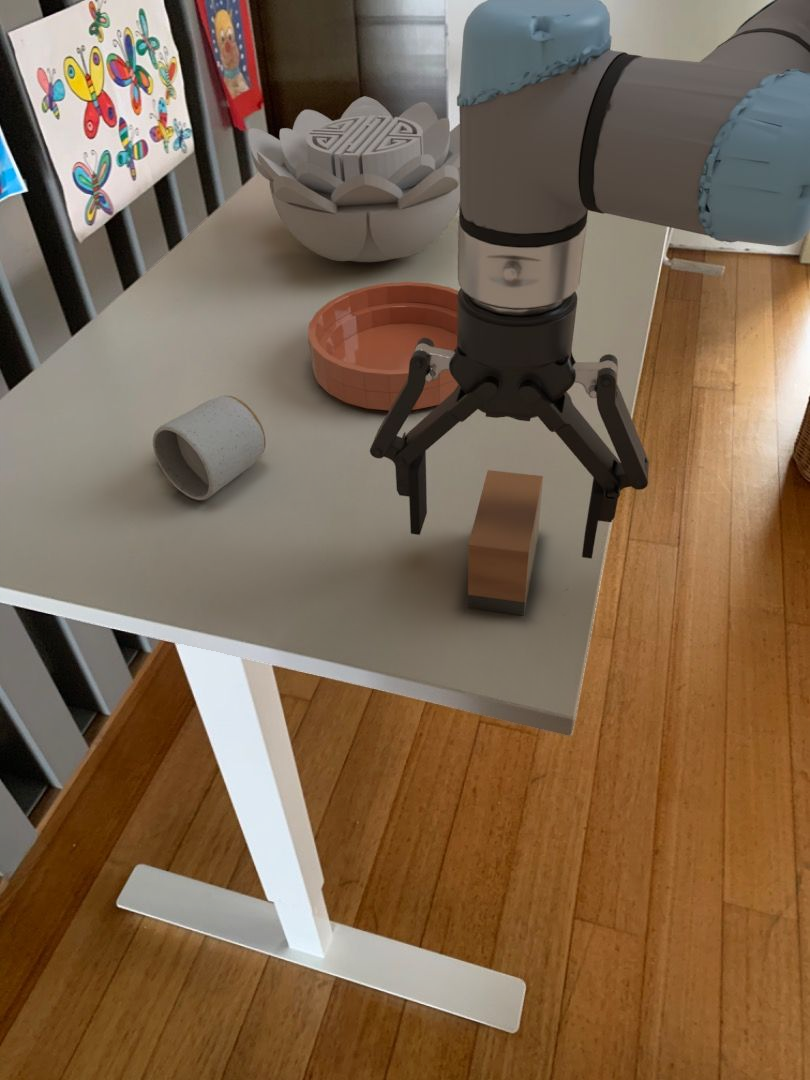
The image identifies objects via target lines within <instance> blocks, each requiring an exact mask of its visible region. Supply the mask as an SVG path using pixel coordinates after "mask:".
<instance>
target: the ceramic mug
mask: <svg viewBox="0 0 810 1080" xmlns="http://www.w3.org/2000/svg"><path fill="white" fill-rule="evenodd" d="M266 441H267V440H266V434H265V430H264V427H263V425H262V422H261V421H260V418H259V417H258V415H257V414H256V413H255V412H254V410H253V409H252V408H251V407H250V406H249V405H248V404H247V403H246V402H244V401H243V400H242V399H239V398H238V397H235V396H232V395H220V396H217V397H214V398H211V399H208V400H206V401H204V402H203V403H201V404H198V406H196V407H194V408H192V409H190V410H189V411H186V412H184V413H183V414H181V415H179V416H177V417H176V418H173V419H172V420H170V421H168V422H166V423H164V424H163V425H161V426H159V427H158V428H157V429H156V430H155V432H154V433H153V437H152V447H153V448H152V449H153V454H154V456H155V458H156V460H157V463H158V465H159V467H160V470H162V472H163V473H164V475H165V476H166V478H167V479H168V480H169V482H170V483H171V484H172V485H173V486H174V487H175V488H176V489H177V490H179V492H181V494H184V495H185V496H186V497H188V498H189V499H190V498H191V499H192V500H195V501H204V500H207V499H209V498H211V497H213V495H215V494H216V493H217V492H218V491H220V490H221V489H223V488H224V487H225V486H226V485H228V484H229V483H231V482H232V481H233V480H234V479H236V478H237V477H239V476H240V475H241V474H242V473H244V472H246V471H247V469H248V470H249V468H251V467H252V466H253V465H255V464H256V462H257V461H258V460H259V459H260V458H262V455H263V454H264V452H265V449H266Z"/></svg>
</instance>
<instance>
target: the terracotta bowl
mask: <svg viewBox="0 0 810 1080" xmlns="http://www.w3.org/2000/svg"><path fill="white" fill-rule="evenodd" d="M458 292H459V290H458V289H455V288H453V287H450V286H444V285H439V284H435V283H430V282H429V283H428V282H414V281H402V282H401V281H400V282H384V283H378V284H374V285H368V286H364V287H360V288H356V289H354V290H351V291H348V292H345V293H343V294H340V295H339V296H337V297H335V298H333V299H331V300H329V301H328V302H327V303H326V304H324V305H323V306H322V307H321V308H319V309H318V310H317V311H316V312H315V314H313V317H312V318H311V320H310V322H309V323H308V330H307V339H308V347H309V354H310V361H311V362H310V363H311V369H312V372H313V375H314V377H315V380H316V382H317V384H318V385H319V386H320V387H321V388H322V389H323V390H325V391H326V393H327V394H329V395H330V396H332V397H334V398H336V399H338V400H340V401H342V402H344V403H346V404H349V405H352V406H356V407H359V408H363V409H371V410H381V411H389V410H390V408H391V406H392V405H393V403H394V401H395V399H396V398H397V396H398V394H399V392H400V390H401V389H402V387H403V385H404V383H405V382H406V380H407V378H408V374H409V364H410V360H411V357H412V355H413V352H414V350H415V348H416V345H417V343H418V341H419V340H420V339H421V338H429V339H431V340H432V341H433V343H434V347H436V348H441V349H446V350H451V351H454V350H455V349H456V347H457V300H458ZM458 385H459V384H458V383H457V382H456V381H455V379H454V378H453V377H452V375H451V373H450V370H444V371H442V372H441V373H440V374H439V376H438V378H437V379H435V380H432V381H431V382H427V381H426V383H425V386H424V388H423V391H422V393H421V395H420V397H419V399H418V400H417V402H416V404H415V405H414V407H413V409H412V410H419V409H425V408H430V407H435V406H438V405H439V404H441V403H442V402H443V401H444V400H445V399H446V398H447V397H448V396H449V395H451V394H452V393H453V392H454V390H455V389H456V387H457V386H458ZM412 410H411V411H412Z"/></svg>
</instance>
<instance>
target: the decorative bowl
mask: <svg viewBox="0 0 810 1080" xmlns="http://www.w3.org/2000/svg"><path fill="white" fill-rule="evenodd" d="M248 143H249V149H250V155H251V159H252V162H253V165H254V167H255V168H256V170H257V172H259V174H260V175H261V176H262V177H263V178H264V179H266V180H268V181H269V190H270V194H271V198H272V201H273V204H274V206H275V209H276V211H277V214H278V216H279V217H280V220H282V222H283V224H284V225H285V227H286V228H287V230H288V231H289V232H290V233H291V235H292V236H293V237H294V238H295V239H296V240H298V242H300V244H301V245H303V246H304V247H306V248H307V249H308V250H309V251H312V252H313V253H314V254H317V255H318V256H321V257H323V258H325V259H328V260H331V261H336V262H355V263H356V262H357V263H375V262H376V263H377V262H384V261H385V262H386V261H390V260H394V259H399V258H400V259H402V258H407V257H411V256H413V255H415V254H418V253H420V252H422V251H423V250H425V249H426V248H429V247H430V246H431V245H432V244H433V243H435V241H437V240H438V239H439V238H440V237H441V236H442V235H443V233H445V231H446V230H447V229H448V227H449V226H450V224H451V223H452V221H453V220H454V217H455V216H456V214H457V213H458V210H459V206H460V205H459V204H460V123H459V124H457V125H456V126H454V128H452V129H451V123H450V119H449V117H443V118H440V119H439V118H438V115H437V114H436V112H435V110H434V109H433V107H432V106H431V105H430V104H429V103H427V102H425V101H423V102H422V101H421V102H417V103H415V104H413V105H412V106H410V107H409V108H407V109H406V110H405V111H404V112H402V113H401V114H400V115H399V116H395V117H393V116H392V114H391V113H390V112H389V110H387V108H386V107H385V106H384V105H382V104H381V103H380V102H379V101H378V100H376V99H374V98H372V97H370V96H365V95H364V96H362V97H359V98H357V99H355V100H354V101H353V102H352V103H351V104H350V105H349V106H348V107H347V108H346V110H345V111H343V114H342V115H341V117H340V118H338V119H334V120H332V119H330V118H329V117H328V116H326V115H324V114H323V113H320V112H319V111H316V110H313V109H303V110H302V111H301V112H300V113H299V114H298V115H297V116H296V118H295V120H294V123H293V127H292V129H291V128H288V127H286V128H285V127H284V128H283V127H282V128H280V129H279V138H277V137H275V136H274V135H272V134H270V133H268V132H266V131H264V130H262V129H260V128H256V127H253V128H248Z"/></svg>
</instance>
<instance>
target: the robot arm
mask: <svg viewBox="0 0 810 1080" xmlns="http://www.w3.org/2000/svg"><path fill="white" fill-rule="evenodd" d="M610 26H611V15H610V12H609V10H608V8H607V6H606V5H605V4H604V2H603V1H601V0H484V1H483V2H480V3H479V4H477V6H476V7H475V8H474V9H473V10H472V11H471V12H470V13H469V15H468V16H467V17H466V20H465V23H464V26H463V32H462V46H461V62H460V63H461V64H460V78H459V93H458V95H457V96H456V106H457V107H458V108H459V109H458V110H459V124H460V204H459V208H458V210H459V213H458V214H459V215H458V225H457V226H458V229H457V232H458V233H457V281H458V286H459V287H460V288H459V290H458V291H459V292H458V300H457V347H456V349H455V350H454V351H451V350H446V349H441V348H436V347H434V343H433V341H432V340H431V339H429V338H421V339H420V340H419V341H418V343H417V345H416V348H415V350H414V352H413V355H412V357H411V360H410V364H409V374H408V378H407V380H406V382H405V383H404V385H403V387H402V389H401V390H400V392H399V394H398V396H397V398H396V399H395V401H394V403H393V405H392V406H391V408H390V410H388V412H387V414H386V415H385V417H384V419H383V421H382V422H381V424H380V426H379V427H378V430H377V432H376V434H375V437H374V439H373V441H372V444H371V445H370V448H369V455H371V456H372V457H373V458H374V459H383V458H386V459H388V460H390V461H392V463H393V464H394V468H395V484H396V485H395V487H396V492H397V494H398V496H399V497H401V496H402V497H409V498H408V499H409V502H408V504H409V522H410V523H409V529H410V534H411V535H417V536H420V535H421V533H422V530H423V526H424V523H425V520H426V517H427V514H428V499H427V450H429V449H430V448H431V447H432V446H433V445H434V444H435V443H436V442H438V441H439V440H440V439H442V437H444V436H445V435H446V434H447V433H448V432H449V431H451V430H452V429H454V427H455V426H456V425H458V424H459V423H463V422H465V421H466V420H467V419H468V418H469V417H470V416H471V415H472V414H474V413H475V412H476V411H478V410H479V411H480V412H482V413H484V414H485V417H486V418H495V419H499V418H506V417H507V418H511V419H514V420H517V421H520V422H521V421H522V422H531V419H535V418H538V419H539V420H540V421H541V423H542V424H544V426H545V427H546V428H547V430H548V431H549V432H551V433H555V434H556V435H557V436H558V437H559V438H560V440H561V441H562V442H563V443H564V444H565V446H566V447H567V448H568V449H569V451H570V452H572V454H573V455H574V456H575V458H576V459H577V460H578V461H579V462H580V464H582V466H583V467H584V468H585V469H586V471H587V472H588V473H589V474H590V475H591V476H592V478H593V479H592V485H591V490H590V491H591V492H590V497H589V503H588V509H587V517H586V523H585V529H584V535H583V536H584V537H583V545H582V552H581V558H584V559H593V555H594V554H593V553H594V547H595V541H596V536H597V530H598V525H599V522H603V523H612V522H613V520H614V519H615V518H616V517H615V516H616V512H617V506H618V501H619V497H620V496H621V495H620V494H621V491H622V490H624V489H626V488H632V489H634V490H638V491H640V490H642V491H643V490H644V489H646V488H647V487H648V485H649V466H650V462H649V458H648V456H647V453H646V450H645V448H644V446H643V443H642V440H641V438H640V436H639V433H638V431H637V428H636V426H635V423H634V421H633V419H632V416H631V414H630V412H629V409H628V407H627V404H626V402H625V399H624V397H623V395H622V392H621V390H620V387H619V385H618V371H619V370H618V365H619V361H618V358H617V357H616V356H615V355H614V354H609V353H608V354H604V355H602V356H601V357H600V358H599V361H598V362H597V361H595V362H594V361H589V362H588V361H585V362H584V361H583V362H582V361H581V362H580V361H579V362H576V360H575V357H574V355H573V341H574V332H575V323H576V315H577V307H578V294H577V290H578V287H579V285H580V283H581V275H582V266H583V259H584V248H585V242H586V232H587V224H588V213H589V212H594V213H598V214H608V215H612V216H616V217H621V218H626V219H629V220H634V221H639V222H644V223H649V224H653V225H656V226H663V227H666V228H672V229H676V230H681V231H683V232H684V231H685V232H690V233H693V234H698V235H703V236H707V237H710V238H712V239H714V240H715V241H718V242H726V243H736V242H740V243H749V244H757V245H764V246H771V247H788V246H791V245H794V244H796V243H799V241H802V239H803V238H804V237H806V236H807V234H808V233H809V232H810V0H771V1H770V2H768V4H766V5H765V6H763V7H762V8H760V9H759V10H757V11H756V12H755V13H754V14H753V15H751V16H750V17H749V18H748V19H747V20H744V22H743V23H742V24H741V25H740V26H738V28H737V29H736V31H735V32H734V33H733V34H732V35H731V36H730V37H728V39H727V40H725V41H723V42H722V43H720V44H719V45H717V47H716V48H715V49H713V50H712V51H711V52H710V53H709V54H707V55H706V56H705V57H703V58H702V59H701V60H700V61H693V60H679V59H670V58H669V59H667V58H659V57H657V58H656V57H645V56H642V55H637V54H630V53H627V52H626V51H618V50H613V49H611V47H612V37H613V36H611V34H610V32H611V31H610V29H611V27H610ZM444 370H450V373H451V375H452V377H453V378H454V379H455V381H456V382H457V383H458V384H459V385H458V386H457V387H456V389H455V390H454V392H453V393H452V394H451V395H449V396H448V397H447V398H446V399H445V400H444V401H443V402H442V403H441V404H439V405H436V407H435V408H434V409H433V410H432V411H430V412H429V413H428V414H427V415H426V416H425V417H424V418H423V419H421V420H420V421H419V422H418V423H417V424H416V425H415V426H414V427H413V428H412V429H410V430H409V431H408V432H407V433H406V431H403V432H404V433H403V434H402V436H398V434H399V432H400V431H401V429H402V427H403V426H404V424H405V422H406V421H407V419H408V417H409V416H410V414H411V412H412V409H413V407H414V405H415V404H416V402H417V400H418V399H419V397H420V395H421V393H422V391H423V388H424V386H425V383H426V381H427V382H431V381H432V380H435V379H437V378H438V376H439V374H440V373H441V372H442V371H444ZM575 383H577V384H580V385H582V386H583V388H584V390H585V393H586V394H587V395H588V397H590V398H591V399H596V405H597V410H598V413H599V416H600V418H601V420H602V423H603V425H604V427H605V429H606V431H607V434H608V436H609V438H610V441H611V443H612V445H613V449H614V451H615V452H616V455H617V456H616V455H615V454H614V452H613V451H612V449H610V448H609V446H608V445H607V444H606V443H605V442H604V441H603V439H602V438H601V437H600V436H599V434H598V433H597V431H595V429H594V427H592V425H591V424H590V423H589V422H588V421H587V420H586V418H585V417H584V416H583V415H582V413H581V412H580V410H578V408H577V407H576V406H575V405H574V404H573V400H572V397H571V396H570V394H569V393H568V391H569V390H570V389H571V388H572V387H573V386H574V384H575ZM413 410H414V409H413Z"/></svg>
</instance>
